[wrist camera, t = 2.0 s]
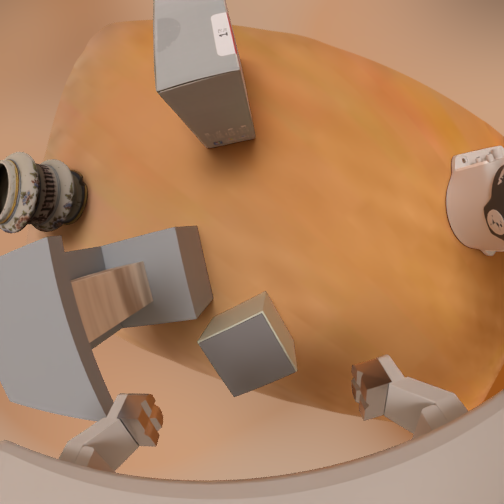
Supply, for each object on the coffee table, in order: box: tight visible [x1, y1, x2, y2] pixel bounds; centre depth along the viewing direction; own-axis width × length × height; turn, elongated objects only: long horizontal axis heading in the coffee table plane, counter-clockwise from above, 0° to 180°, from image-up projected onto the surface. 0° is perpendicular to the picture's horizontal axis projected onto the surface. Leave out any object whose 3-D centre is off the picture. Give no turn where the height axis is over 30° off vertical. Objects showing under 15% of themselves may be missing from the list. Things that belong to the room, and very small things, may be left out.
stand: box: [197, 291, 298, 397], centre depth 37 cm, size 9×9×10 cm
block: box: [71, 261, 153, 343], centre depth 26 cm, size 5×5×14 cm
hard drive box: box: [153, 0, 255, 148], centre depth 29 cm, size 16×8×20 cm, turn 10°
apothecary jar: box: [0, 152, 87, 233], centre depth 34 cm, size 12×12×18 cm
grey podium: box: [0, 226, 213, 421], centre depth 28 cm, size 12×11×30 cm
